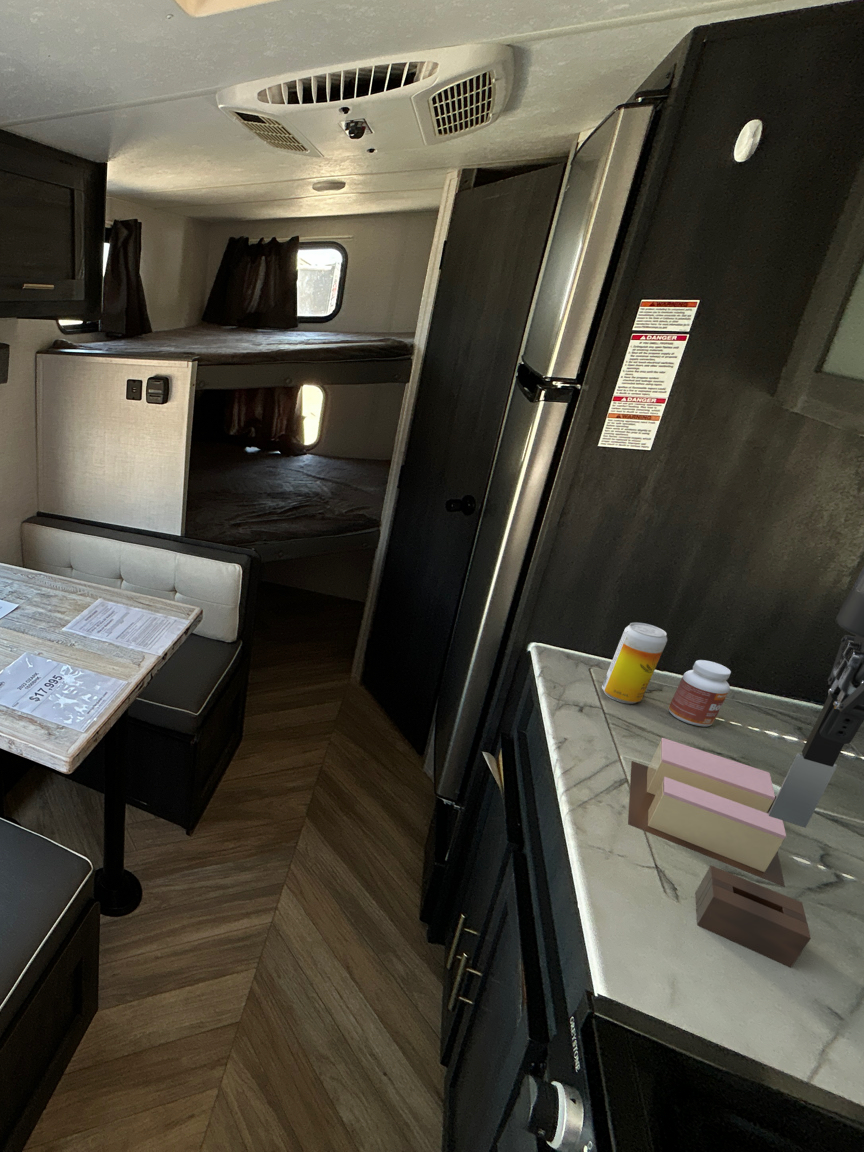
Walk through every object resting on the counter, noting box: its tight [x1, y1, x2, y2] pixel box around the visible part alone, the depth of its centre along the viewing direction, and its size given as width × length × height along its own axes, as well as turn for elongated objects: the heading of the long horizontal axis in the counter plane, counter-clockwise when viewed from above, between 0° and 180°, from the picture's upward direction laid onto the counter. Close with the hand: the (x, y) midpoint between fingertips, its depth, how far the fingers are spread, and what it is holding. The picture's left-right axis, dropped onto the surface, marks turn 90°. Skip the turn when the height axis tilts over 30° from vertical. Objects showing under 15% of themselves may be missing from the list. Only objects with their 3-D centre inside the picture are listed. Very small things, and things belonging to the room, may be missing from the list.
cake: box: [647, 737, 776, 813], centre depth 95 cm, size 12×7×7 cm, turn 49°
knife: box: [768, 693, 845, 829], centre depth 71 cm, size 3×2×17 cm, turn 48°
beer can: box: [601, 622, 668, 705], centre depth 120 cm, size 6×6×15 cm
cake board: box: [627, 760, 786, 888], centre depth 94 cm, size 16×18×1 cm
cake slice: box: [648, 777, 787, 872], centre depth 88 cm, size 12×4×7 cm, turn 48°
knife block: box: [694, 865, 812, 969], centre depth 76 cm, size 8×6×6 cm
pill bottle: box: [668, 659, 732, 727], centre depth 115 cm, size 6×6×11 cm
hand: (831, 733), depth 70 cm, fingers closed on knife, 1 cm apart
